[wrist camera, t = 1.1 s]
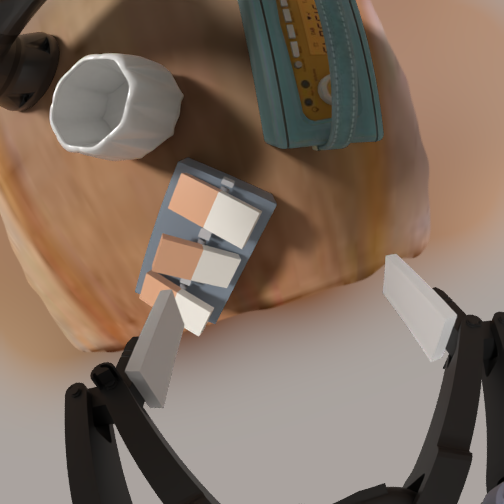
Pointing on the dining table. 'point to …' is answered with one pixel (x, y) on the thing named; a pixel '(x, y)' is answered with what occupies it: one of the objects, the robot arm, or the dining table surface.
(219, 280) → the rocker mid
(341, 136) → the radio
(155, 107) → the vase
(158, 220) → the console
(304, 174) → the dining table surface
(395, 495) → the robot arm
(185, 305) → the rocker far
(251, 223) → the rocker near
